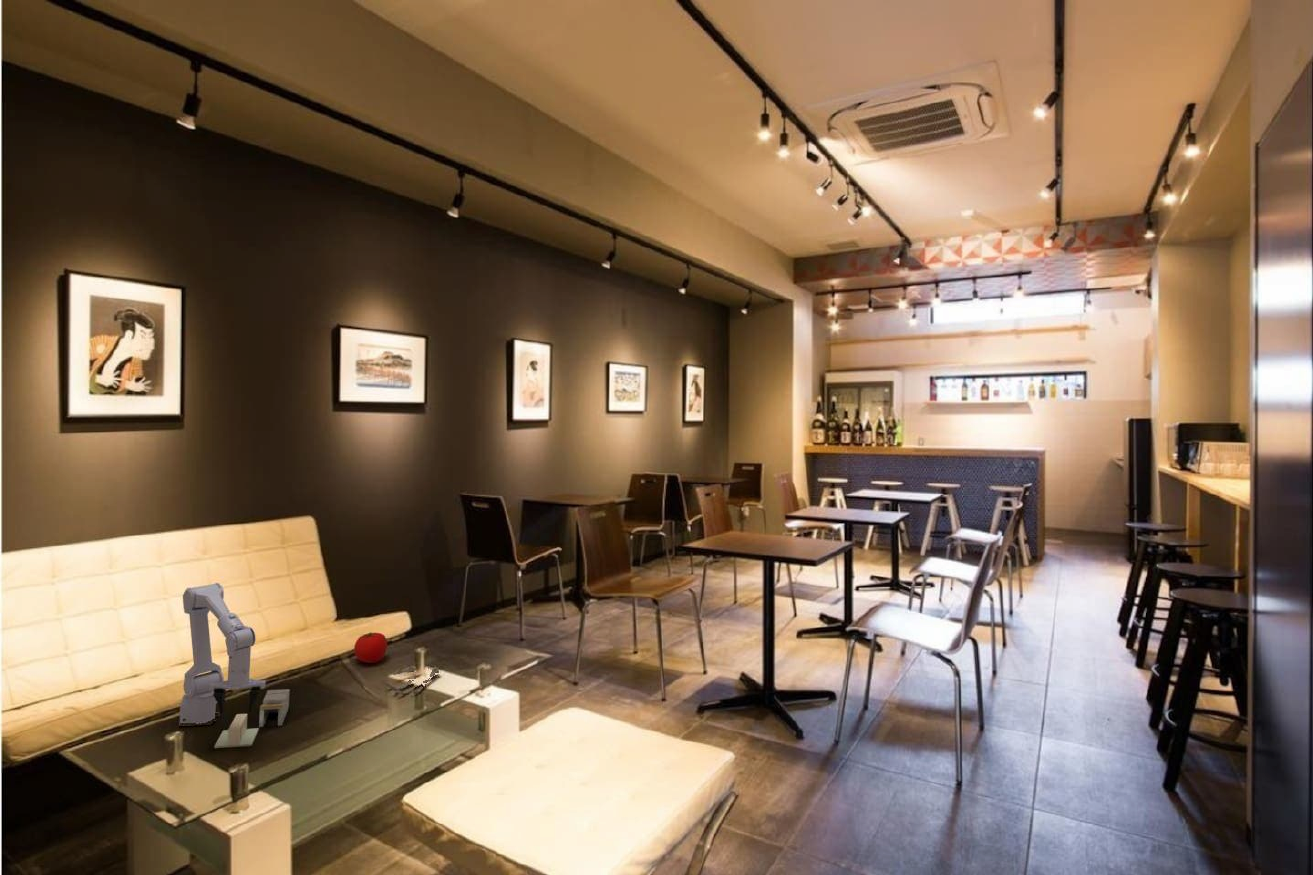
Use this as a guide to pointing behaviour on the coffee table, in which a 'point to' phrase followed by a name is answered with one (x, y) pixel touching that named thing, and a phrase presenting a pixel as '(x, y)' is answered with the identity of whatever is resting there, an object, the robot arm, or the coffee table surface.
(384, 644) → the tomato
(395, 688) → the skeleton model
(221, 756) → the coffee table surface
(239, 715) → the beige rectangular block
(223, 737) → the pad
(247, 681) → the robot arm
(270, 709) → the frame
